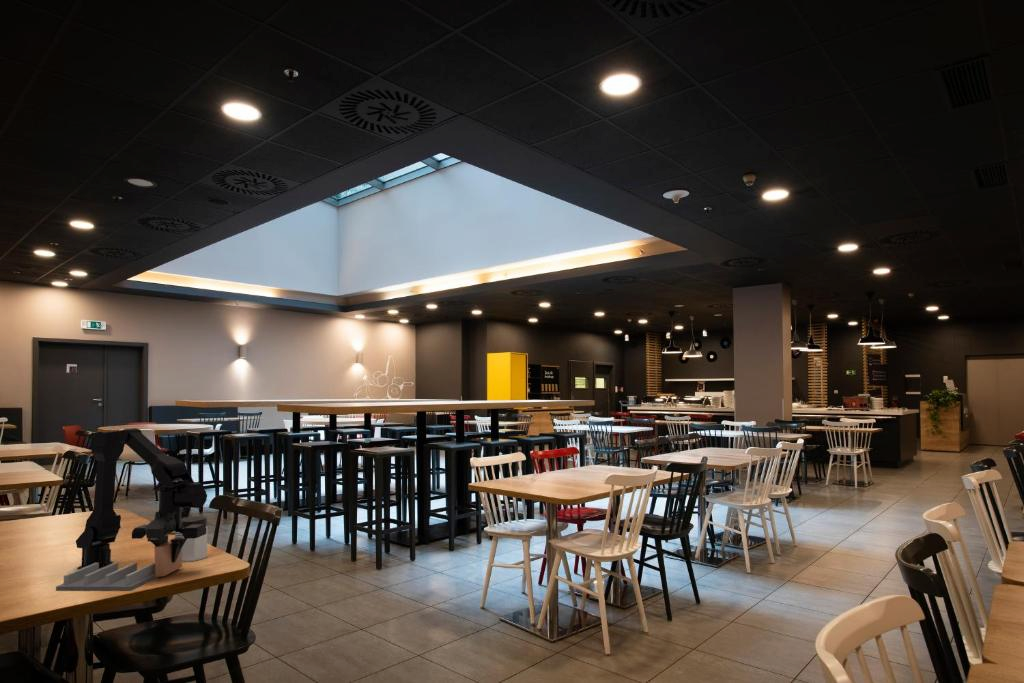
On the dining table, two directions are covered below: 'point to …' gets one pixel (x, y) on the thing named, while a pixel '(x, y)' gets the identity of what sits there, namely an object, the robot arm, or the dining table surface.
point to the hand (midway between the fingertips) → (168, 562)
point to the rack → (108, 578)
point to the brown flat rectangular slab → (166, 559)
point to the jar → (194, 540)
